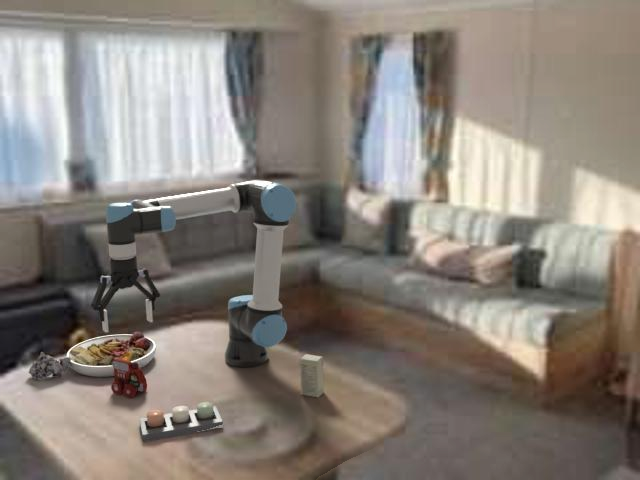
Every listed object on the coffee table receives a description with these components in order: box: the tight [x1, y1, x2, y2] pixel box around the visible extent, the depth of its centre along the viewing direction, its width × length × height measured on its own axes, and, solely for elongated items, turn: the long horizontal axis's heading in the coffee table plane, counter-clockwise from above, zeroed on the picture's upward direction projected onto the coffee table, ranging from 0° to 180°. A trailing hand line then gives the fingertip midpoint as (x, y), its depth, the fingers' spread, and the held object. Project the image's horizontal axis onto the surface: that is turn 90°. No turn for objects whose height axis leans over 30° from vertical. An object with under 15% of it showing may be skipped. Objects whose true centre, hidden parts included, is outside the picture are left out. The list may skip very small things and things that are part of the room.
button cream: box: [171, 405, 190, 423], centre depth 189 cm, size 5×5×3 cm
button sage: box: [196, 401, 214, 419], centre depth 191 cm, size 5×5×3 cm
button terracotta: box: [146, 409, 165, 428], centre depth 187 cm, size 5×5×3 cm
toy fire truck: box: [110, 359, 148, 399], centre depth 211 cm, size 7×12×10 cm, turn 64°
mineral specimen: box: [28, 351, 71, 382], centre depth 222 cm, size 12×9×10 cm
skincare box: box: [299, 353, 325, 398], centre depth 209 cm, size 6×4×12 cm
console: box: [139, 405, 224, 442], centre depth 190 cm, size 22×10×2 cm, turn 110°
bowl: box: [66, 331, 157, 378], centre depth 234 cm, size 30×30×8 cm
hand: (128, 326), depth 197 cm, fingers open, 13 cm apart
